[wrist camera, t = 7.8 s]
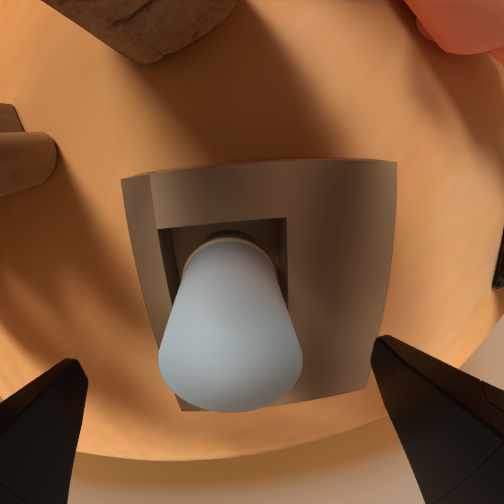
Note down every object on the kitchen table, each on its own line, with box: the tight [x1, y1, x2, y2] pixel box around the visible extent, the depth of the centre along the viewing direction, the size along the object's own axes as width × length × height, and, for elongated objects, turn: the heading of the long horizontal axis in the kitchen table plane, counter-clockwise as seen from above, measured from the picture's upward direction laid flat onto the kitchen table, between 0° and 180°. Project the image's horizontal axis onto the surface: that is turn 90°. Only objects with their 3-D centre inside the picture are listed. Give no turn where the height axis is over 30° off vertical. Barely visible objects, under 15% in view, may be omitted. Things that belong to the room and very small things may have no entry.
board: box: [121, 158, 397, 411], centre depth 14 cm, size 12×14×3 cm
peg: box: [158, 230, 303, 413], centre depth 11 cm, size 4×4×8 cm
